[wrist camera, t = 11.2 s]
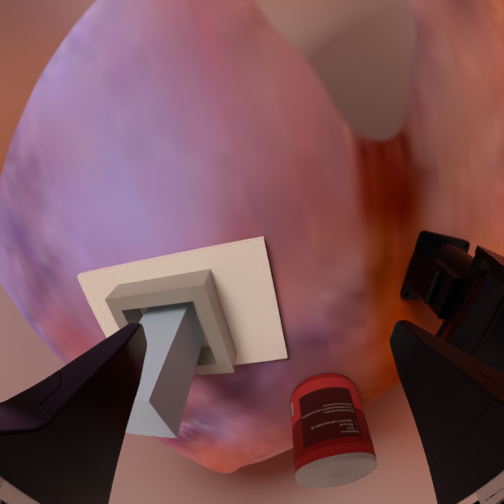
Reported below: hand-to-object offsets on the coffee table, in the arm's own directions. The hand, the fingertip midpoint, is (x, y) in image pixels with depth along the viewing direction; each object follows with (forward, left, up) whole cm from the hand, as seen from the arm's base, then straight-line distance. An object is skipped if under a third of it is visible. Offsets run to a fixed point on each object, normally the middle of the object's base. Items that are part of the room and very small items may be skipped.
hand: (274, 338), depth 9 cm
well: (+7, +10, -13) cm, 18 cm away
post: (+7, +10, -12) cm, 17 cm away
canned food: (-9, +19, -13) cm, 25 cm away
